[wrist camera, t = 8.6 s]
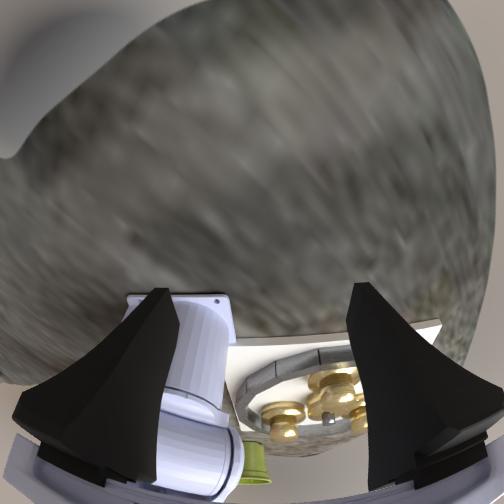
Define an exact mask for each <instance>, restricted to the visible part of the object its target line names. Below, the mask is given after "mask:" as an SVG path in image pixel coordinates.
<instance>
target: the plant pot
mask: <svg viewBox="0 0 504 504" xmlns="http://www.w3.org/2000/svg"><path fill="white" fill-rule="evenodd" d="M243 446H244V466H243V471H242V475H241V478H240V480H239V482H238V484H246V485H257V484H268V483H271V482H272V481H271V480H270V478H269V474H268V473H267V467H266V460H265V453H264V446H263V444H258V443H257V442H247V441H244V442H243Z"/></svg>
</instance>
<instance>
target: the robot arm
mask: <svg viewBox="0 0 504 504" xmlns="http://www.w3.org/2000/svg"><path fill="white" fill-rule="evenodd" d="M215 299H218V300H219V301H217V300H215ZM127 302H128V304H129V307H128V309H127V311H126V313H125V316H124V318H123V320H122V322H121V323H120V324H119V325H118V326H117V327H116V328H115V329H114V330H113V331H112V332H111V333H110V334H109V335H108V336H107V337H106V338H105V339H104V340H103V341H102V342H101V343H99V344H98V345H97V346H96V347H95V348H94V349H92V350H91V351H90V352H89V353H87V354H86V355H85V356H84V357H82V358H81V359H79V360H78V361H77V362H75V363H74V364H72V365H71V366H70V367H68V368H67V369H65V370H64V371H62V372H61V373H59V374H57V375H56V376H54V377H52V378H50V379H49V380H47V381H45V382H43V383H41V384H39V385H37V386H35V387H33V388H31V389H28V390H26V391H24V392H22V394H21V396H20V398H19V401H18V403H17V405H16V408H15V411H14V413H13V415H12V419H13V420H14V421H15V422H16V423H17V424H18V425H20V426H21V427H22V428H23V429H25V430H26V431H27V432H29V433H30V434H31V435H33V436H34V437H36V438H37V439H38V440H40V441H41V444H40V446H38V445H37V444H35V443H33V442H32V441H30V440H28V439H26V438H25V437H23V436H22V435H20V434H18V433H17V434H16V436H15V439H14V442H13V445H12V448H11V451H10V454H9V457H8V460H7V464H6V467H5V470H4V474H3V478H4V479H5V480H6V481H7V482H9V483H10V484H11V485H12V486H14V487H15V488H16V489H17V490H19V491H20V492H21V493H22V494H24V495H25V496H26V497H28V498H29V499H30V500H31V501H32V502H34V503H35V504H234V503H223V502H224V500H225V499H226V497H227V496H228V495H229V493H230V492H231V491H232V490H233V489H234V488H235V487H236V486H237V484H238V482H239V480H240V478H241V475H242V471H243V466H244V446H243V442H242V440H241V438H240V436H239V434H238V432H237V430H236V429H235V428H233V427H231V426H228V421H229V414H227V413H224V412H221V409H222V399H223V390H224V381H225V372H226V363H227V354H228V345H229V343H236V342H237V340H236V334H235V329H234V323H233V318H232V312H231V306H230V301H229V297H228V296H227V295H225V294H205V295H171V294H170V291H169V288H154V289H153V290H152V291H151V292H150V293H149V294H148V295H129V296H128V297H127ZM346 324H347V330H348V336H349V342H350V345H351V349H352V353H353V356H354V360H355V363H356V367H357V370H358V374H359V378H360V381H361V385H362V389H363V394H364V400H365V407H366V416H367V427H368V446H369V468H368V490H369V492H368V493H364V494H359V495H354V496H350V497H344V498H337V499H331V500H324V501H315V502H305V503H293V504H492V503H493V502H494V501H496V500H497V499H498V498H500V497H501V496H502V495H504V435H503V436H501V437H499V438H498V439H496V440H494V441H493V442H491V443H490V444H488V445H486V446H485V443H484V440H486V439H487V438H488V435H487V432H486V430H487V429H489V428H490V427H491V426H492V425H494V424H495V423H496V422H497V421H499V420H500V419H501V418H502V417H503V416H504V392H503V389H502V388H500V387H498V386H496V385H494V384H492V383H490V382H488V381H486V380H484V379H482V378H480V377H478V376H476V375H474V374H473V373H471V372H469V371H468V370H466V369H464V368H463V367H461V366H460V365H458V364H457V363H455V362H454V361H452V360H451V359H450V358H448V357H447V356H445V355H444V354H443V353H441V352H440V351H439V350H438V349H436V348H435V347H434V346H433V345H431V344H430V343H429V342H428V341H427V340H426V339H424V338H423V337H422V336H421V335H420V334H419V333H418V332H417V331H416V330H415V329H414V328H412V327H411V326H410V325H409V324H408V323H407V322H406V321H405V320H404V319H403V318H402V317H401V316H400V315H399V314H398V313H397V312H396V310H395V309H394V308H393V307H392V306H391V305H390V304H389V303H388V302H387V301H386V300H385V299H384V298H383V297H382V296H381V295H380V293H379V292H378V291H377V290H376V289H375V288H374V287H373V286H372V285H371V284H370V283H369V282H364V283H354V287H353V291H352V296H351V300H350V305H349V309H348V313H347V317H346ZM393 485H395V486H393ZM390 486H392V487H390ZM386 487H388V488H386ZM382 488H385V489H382ZM378 489H381V490H378ZM374 490H377V491H374ZM370 491H373V492H370Z"/></svg>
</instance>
